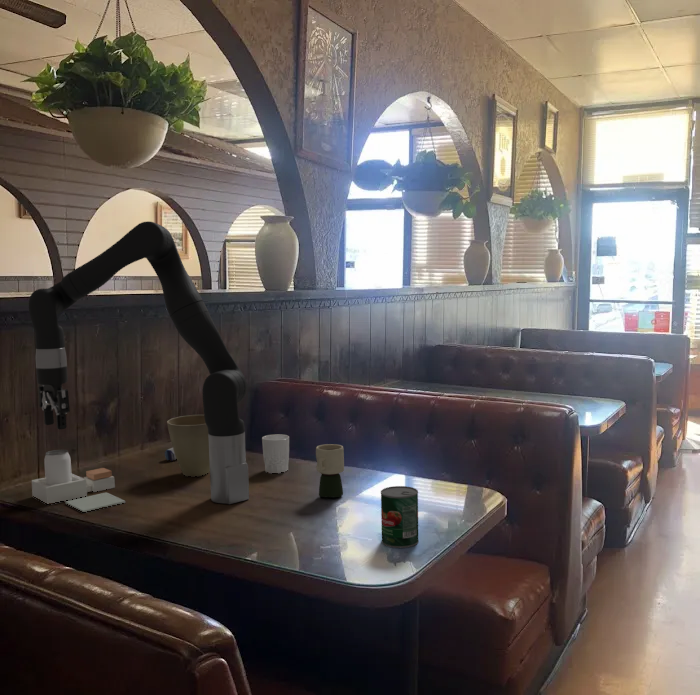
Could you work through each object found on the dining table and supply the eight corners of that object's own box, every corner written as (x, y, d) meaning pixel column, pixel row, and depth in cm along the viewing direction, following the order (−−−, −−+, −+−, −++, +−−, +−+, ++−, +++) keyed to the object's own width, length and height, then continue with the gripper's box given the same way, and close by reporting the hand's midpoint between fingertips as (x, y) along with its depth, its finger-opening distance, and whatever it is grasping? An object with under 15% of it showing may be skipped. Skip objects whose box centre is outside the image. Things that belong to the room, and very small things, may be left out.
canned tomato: (374, 544, 159) (373, 493, 158) (392, 532, 166) (391, 484, 165) (408, 550, 155) (407, 498, 154) (425, 538, 162) (424, 488, 160)
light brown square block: (112, 487, 207) (111, 470, 206) (94, 490, 203) (93, 474, 203) (104, 483, 210) (103, 467, 210) (87, 487, 207) (86, 471, 206)
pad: (125, 503, 192) (125, 500, 192) (83, 513, 185) (83, 510, 185) (106, 494, 200) (106, 492, 200) (65, 503, 193) (65, 501, 193)
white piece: (118, 489, 205) (117, 473, 205) (47, 505, 192) (46, 487, 192) (102, 481, 213) (101, 466, 212) (32, 496, 200) (31, 480, 199)
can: (67, 500, 196) (64, 454, 195) (42, 500, 196) (39, 455, 195) (76, 492, 203) (73, 449, 201) (52, 493, 203) (49, 449, 202)
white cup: (275, 475, 215) (274, 441, 214) (257, 471, 220) (256, 437, 219) (295, 470, 220) (294, 436, 219) (277, 465, 226) (276, 433, 225)
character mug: (329, 489, 200) (328, 441, 198) (353, 492, 196) (352, 443, 195) (308, 501, 190) (306, 450, 189) (332, 504, 187) (331, 453, 186)
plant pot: (161, 473, 221) (158, 419, 219) (207, 464, 229) (205, 412, 228) (182, 483, 209) (180, 427, 207) (230, 474, 217) (228, 419, 216)
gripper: (76, 366, 193) (80, 428, 195) (55, 361, 204) (59, 421, 205) (47, 369, 188) (51, 433, 190) (26, 364, 199) (30, 425, 200)
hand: (55, 426), depth 198 cm, fingers open, 8 cm apart
